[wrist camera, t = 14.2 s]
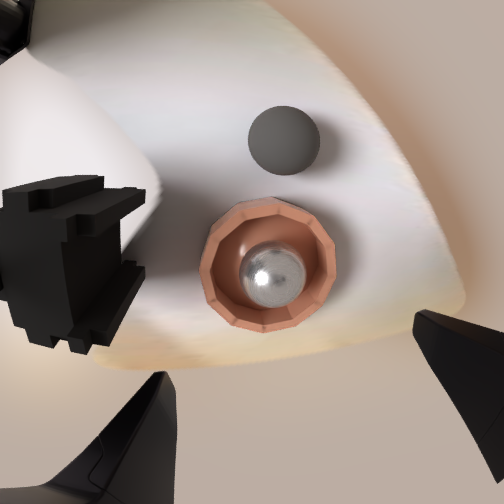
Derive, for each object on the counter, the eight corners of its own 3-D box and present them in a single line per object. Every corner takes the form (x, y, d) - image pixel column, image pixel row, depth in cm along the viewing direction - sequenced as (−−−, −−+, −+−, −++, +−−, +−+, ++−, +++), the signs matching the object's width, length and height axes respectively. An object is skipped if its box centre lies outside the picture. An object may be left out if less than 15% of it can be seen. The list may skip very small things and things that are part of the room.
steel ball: (230, 239, 18) (236, 262, 14) (291, 226, 18) (313, 245, 14) (241, 295, 19) (250, 328, 15) (298, 282, 20) (318, 311, 16)
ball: (240, 116, 16) (245, 104, 12) (302, 108, 16) (323, 97, 13) (251, 178, 17) (259, 184, 14) (312, 168, 18) (335, 172, 14)
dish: (191, 212, 18) (186, 221, 15) (316, 189, 18) (329, 194, 16) (218, 321, 21) (218, 341, 18) (326, 298, 21) (337, 315, 19)
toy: (73, 464, 6) (-77, 380, 4) (148, 284, 19) (36, 271, 18) (-18, 238, 3) (-127, 227, 2) (149, 174, 17) (28, 175, 15)
